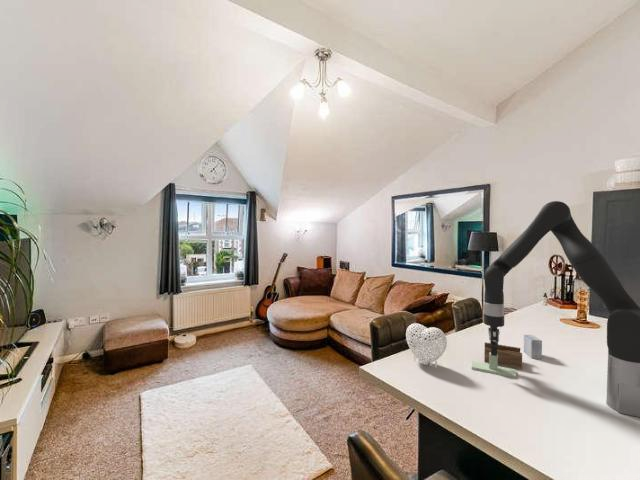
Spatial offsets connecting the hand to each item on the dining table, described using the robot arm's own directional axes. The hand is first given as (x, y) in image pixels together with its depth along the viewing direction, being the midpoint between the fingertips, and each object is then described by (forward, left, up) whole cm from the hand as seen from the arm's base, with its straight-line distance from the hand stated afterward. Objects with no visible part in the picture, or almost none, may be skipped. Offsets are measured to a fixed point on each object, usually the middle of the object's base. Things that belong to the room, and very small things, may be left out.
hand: (493, 351), depth 126 cm
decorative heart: (-8, +26, -8) cm, 28 cm away
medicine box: (+27, -17, -8) cm, 33 cm away
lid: (0, 0, -9) cm, 9 cm away
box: (+12, -4, -8) cm, 15 cm away
